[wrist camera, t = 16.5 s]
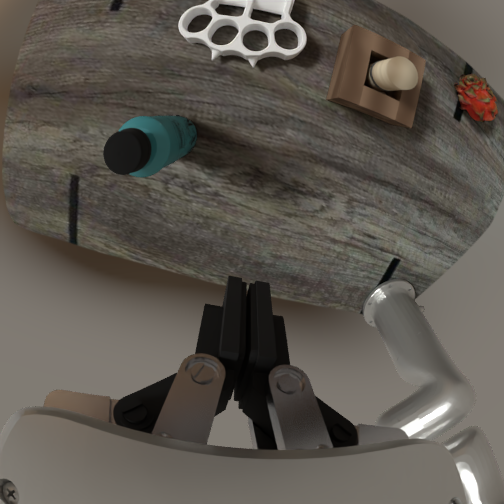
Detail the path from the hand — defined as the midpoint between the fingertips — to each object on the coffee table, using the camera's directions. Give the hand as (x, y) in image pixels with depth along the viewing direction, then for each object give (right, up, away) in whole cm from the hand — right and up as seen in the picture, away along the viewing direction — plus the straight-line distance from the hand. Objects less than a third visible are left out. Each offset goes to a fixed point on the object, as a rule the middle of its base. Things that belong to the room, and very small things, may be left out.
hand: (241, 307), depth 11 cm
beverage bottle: (-10, +20, +26) cm, 34 cm away
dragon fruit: (+40, +31, +20) cm, 55 cm away
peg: (+18, +28, +20) cm, 39 cm away
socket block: (+18, +29, +21) cm, 40 cm away
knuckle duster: (-1, +36, +18) cm, 40 cm away
